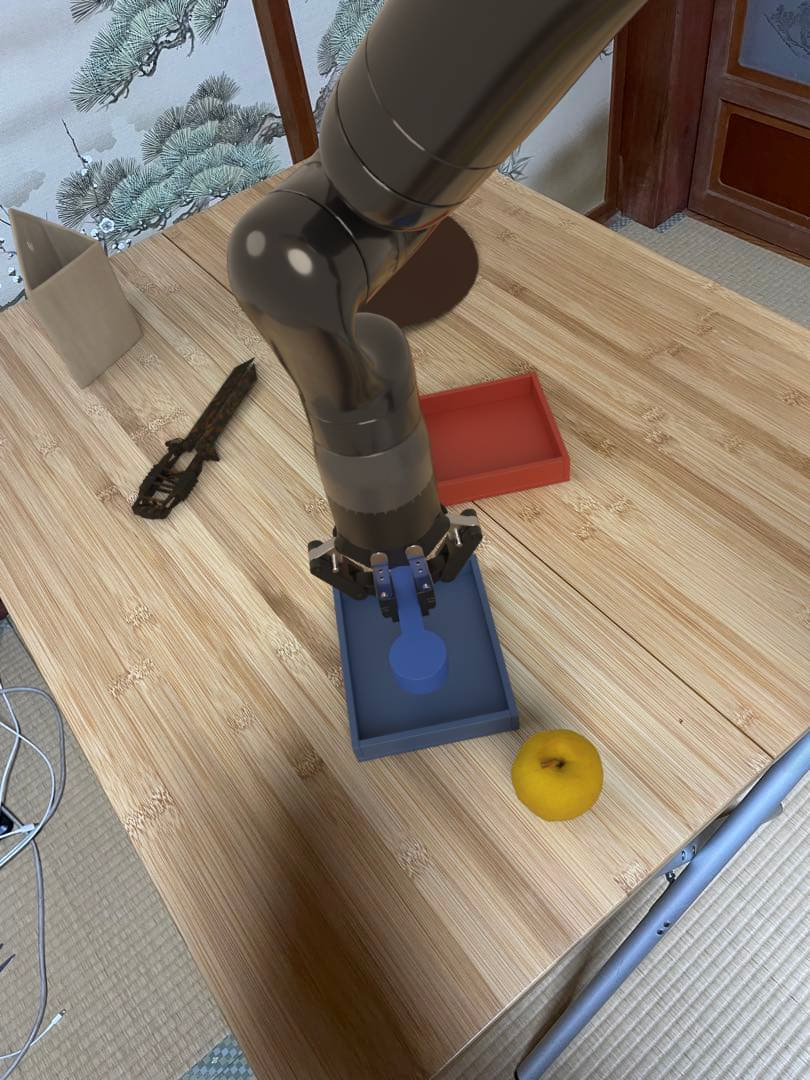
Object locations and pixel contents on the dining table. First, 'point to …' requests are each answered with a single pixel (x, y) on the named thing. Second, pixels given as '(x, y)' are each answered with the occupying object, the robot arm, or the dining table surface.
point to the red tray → (494, 439)
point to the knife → (187, 445)
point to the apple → (557, 775)
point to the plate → (429, 278)
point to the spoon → (415, 642)
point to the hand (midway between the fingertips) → (410, 609)
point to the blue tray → (451, 710)
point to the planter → (74, 295)
